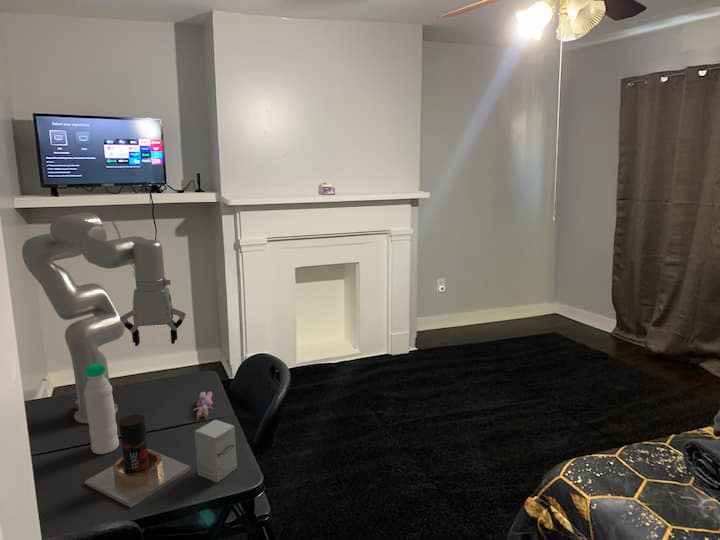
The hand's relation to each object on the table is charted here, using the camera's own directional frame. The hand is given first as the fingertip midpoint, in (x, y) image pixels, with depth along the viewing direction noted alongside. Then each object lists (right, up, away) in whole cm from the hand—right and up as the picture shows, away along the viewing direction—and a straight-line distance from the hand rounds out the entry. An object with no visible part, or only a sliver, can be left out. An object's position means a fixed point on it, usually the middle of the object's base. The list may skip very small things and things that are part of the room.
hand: (155, 343), depth 155 cm
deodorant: (+1, -32, -13) cm, 35 cm away
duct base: (+1, -33, -13) cm, 35 cm away
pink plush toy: (+8, -25, +22) cm, 34 cm away
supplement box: (+21, -32, -12) cm, 40 cm away
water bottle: (-14, -30, 0) cm, 33 cm away
